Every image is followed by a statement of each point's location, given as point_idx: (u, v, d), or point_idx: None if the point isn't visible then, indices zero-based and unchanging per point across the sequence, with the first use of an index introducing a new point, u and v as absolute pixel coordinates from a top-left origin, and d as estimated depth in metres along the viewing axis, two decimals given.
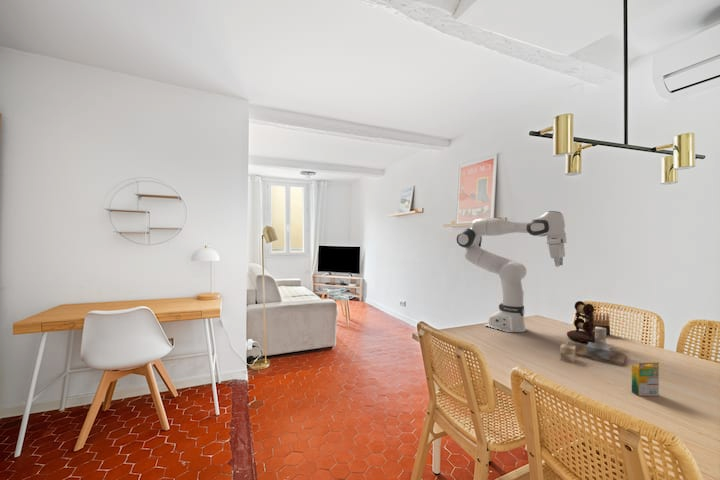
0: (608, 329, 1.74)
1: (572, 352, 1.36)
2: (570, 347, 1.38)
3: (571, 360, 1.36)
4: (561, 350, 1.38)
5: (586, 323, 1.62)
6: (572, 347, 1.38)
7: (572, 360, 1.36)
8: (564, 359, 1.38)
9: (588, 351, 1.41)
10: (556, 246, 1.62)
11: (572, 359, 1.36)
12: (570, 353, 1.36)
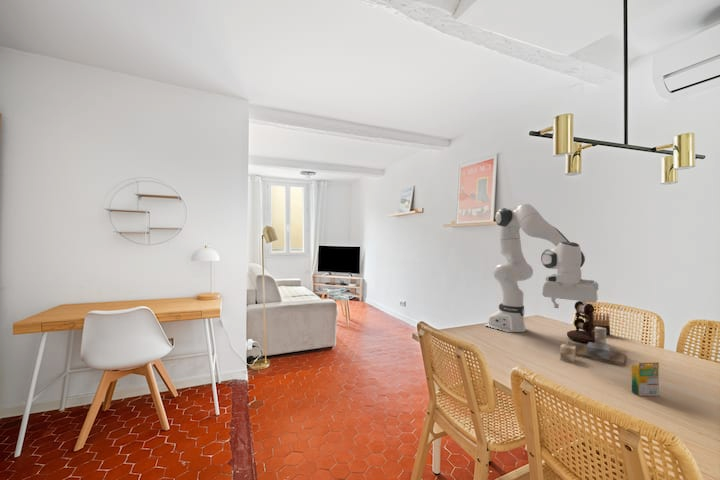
0: (608, 329, 1.74)
1: (572, 352, 1.36)
2: (570, 347, 1.38)
3: (571, 360, 1.36)
4: (561, 350, 1.38)
5: (586, 323, 1.62)
6: (572, 347, 1.38)
7: (572, 360, 1.36)
8: (564, 359, 1.38)
9: (588, 351, 1.41)
10: (544, 284, 1.44)
11: (572, 359, 1.36)
12: (570, 353, 1.36)
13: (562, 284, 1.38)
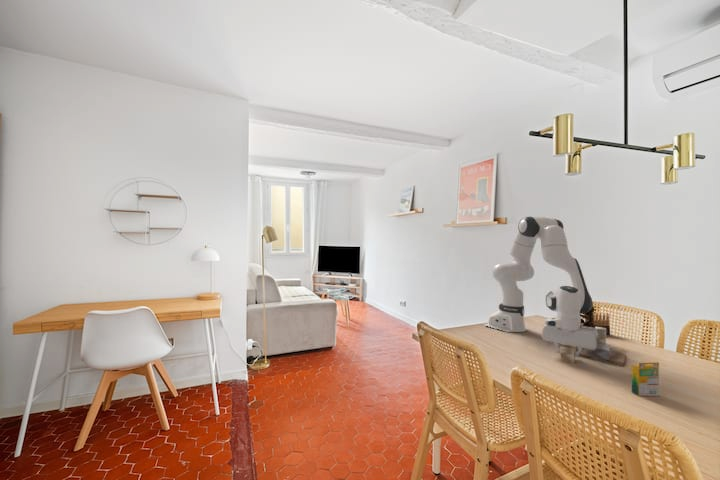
0: (608, 329, 1.74)
1: (572, 352, 1.36)
2: (570, 347, 1.38)
3: (571, 360, 1.36)
4: (561, 350, 1.38)
5: (586, 323, 1.62)
6: (572, 347, 1.38)
7: (572, 360, 1.36)
8: (564, 359, 1.38)
9: (588, 351, 1.41)
10: (543, 327, 1.44)
11: (572, 359, 1.36)
12: (570, 353, 1.36)
13: (561, 329, 1.39)
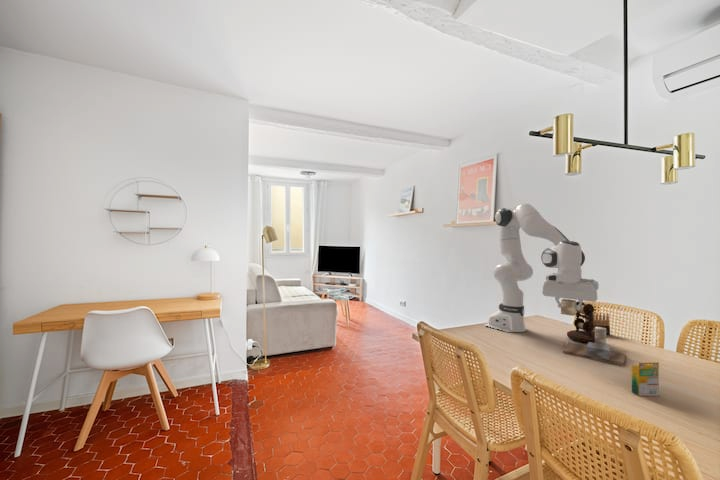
0: (608, 329, 1.74)
1: (573, 305, 1.35)
2: (571, 301, 1.37)
3: (572, 313, 1.36)
4: (562, 304, 1.38)
5: (586, 323, 1.62)
6: (573, 301, 1.37)
7: (573, 313, 1.36)
8: (565, 313, 1.37)
9: (588, 351, 1.41)
10: (544, 283, 1.44)
11: (573, 312, 1.36)
12: (571, 306, 1.36)
13: (562, 283, 1.38)
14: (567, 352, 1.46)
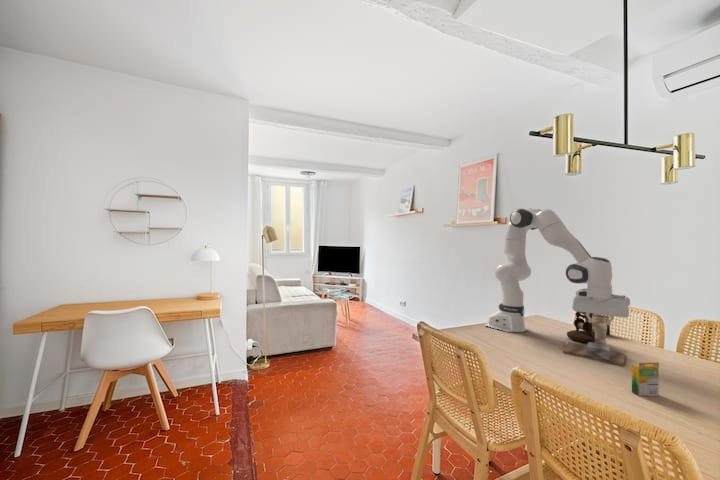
0: (608, 329, 1.74)
1: (604, 321, 1.38)
2: (602, 316, 1.40)
3: (603, 329, 1.38)
4: (593, 319, 1.40)
5: (586, 323, 1.62)
6: (604, 316, 1.40)
7: (604, 328, 1.38)
8: (596, 328, 1.40)
9: (588, 351, 1.41)
10: (574, 298, 1.46)
11: (604, 327, 1.38)
12: (602, 322, 1.38)
13: (593, 299, 1.41)
14: (567, 352, 1.46)
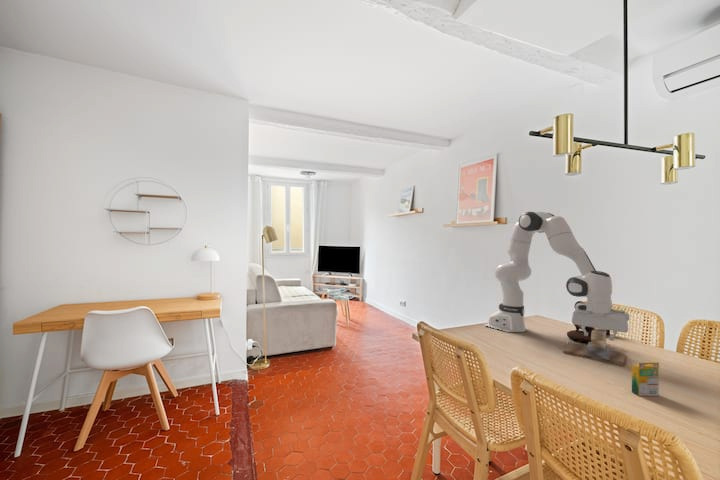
0: None
1: (603, 338, 1.38)
2: (601, 333, 1.40)
3: (602, 346, 1.38)
4: (592, 336, 1.41)
5: None
6: (603, 333, 1.40)
7: (603, 346, 1.38)
8: (595, 345, 1.40)
9: (588, 351, 1.41)
10: None
11: (603, 345, 1.38)
12: (601, 339, 1.39)
13: (592, 313, 1.41)
14: (567, 352, 1.46)
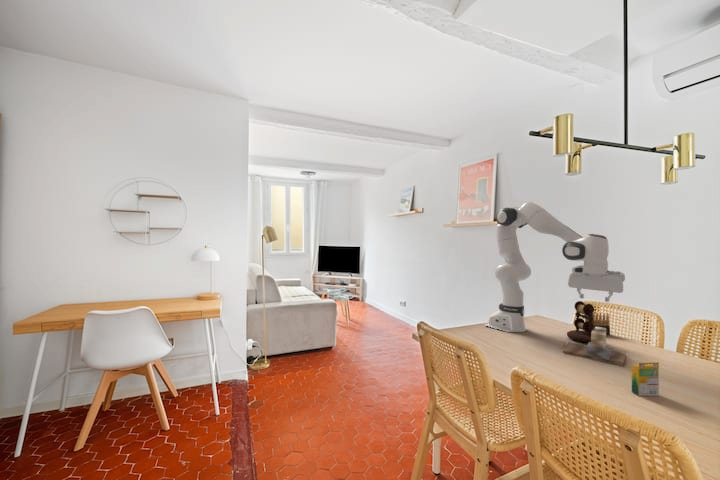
0: (608, 329, 1.74)
1: (603, 338, 1.38)
2: (601, 333, 1.40)
3: (602, 346, 1.38)
4: (592, 336, 1.41)
5: (586, 323, 1.62)
6: (603, 333, 1.40)
7: (603, 346, 1.38)
8: (595, 345, 1.40)
9: (588, 351, 1.41)
10: (570, 274, 1.48)
11: (603, 345, 1.38)
12: (601, 339, 1.39)
13: (588, 275, 1.43)
14: (567, 352, 1.46)
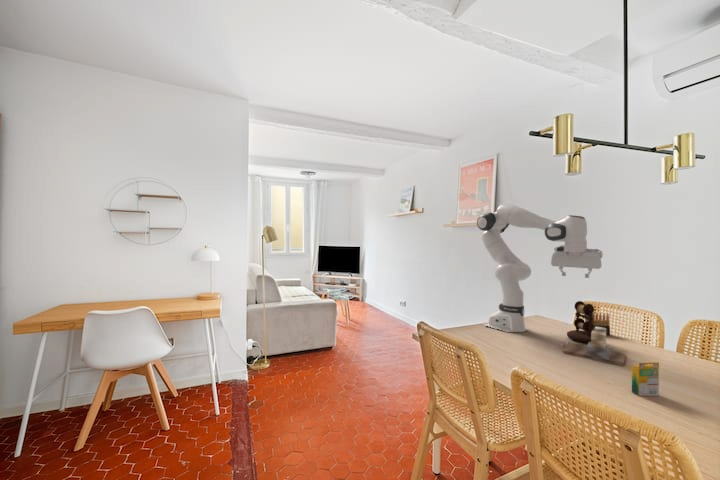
0: (608, 329, 1.74)
1: (603, 338, 1.38)
2: (601, 333, 1.40)
3: (602, 346, 1.38)
4: (592, 336, 1.41)
5: (586, 323, 1.62)
6: (603, 333, 1.40)
7: (603, 346, 1.38)
8: (595, 345, 1.40)
9: (588, 351, 1.41)
10: None
11: (603, 345, 1.38)
12: (601, 339, 1.39)
13: (569, 253, 1.52)
14: (567, 352, 1.46)
